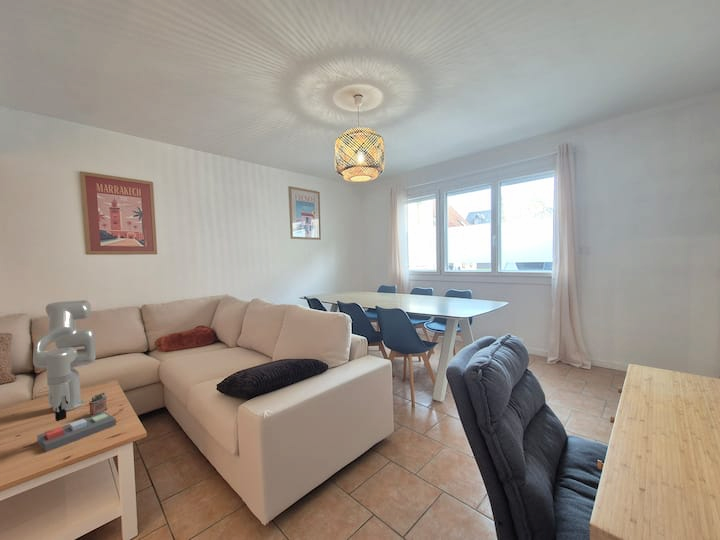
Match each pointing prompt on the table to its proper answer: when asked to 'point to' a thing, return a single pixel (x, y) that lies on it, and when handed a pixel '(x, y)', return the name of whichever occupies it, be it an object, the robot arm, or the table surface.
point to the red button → (54, 433)
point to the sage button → (99, 418)
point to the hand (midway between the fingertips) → (61, 419)
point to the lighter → (98, 404)
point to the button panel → (75, 433)
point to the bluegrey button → (77, 424)
